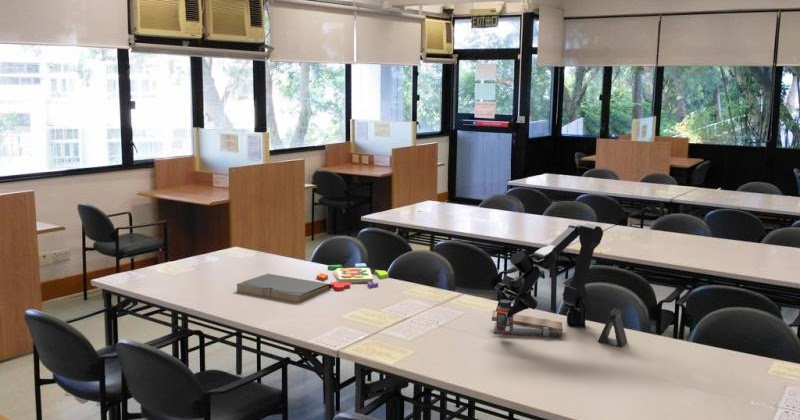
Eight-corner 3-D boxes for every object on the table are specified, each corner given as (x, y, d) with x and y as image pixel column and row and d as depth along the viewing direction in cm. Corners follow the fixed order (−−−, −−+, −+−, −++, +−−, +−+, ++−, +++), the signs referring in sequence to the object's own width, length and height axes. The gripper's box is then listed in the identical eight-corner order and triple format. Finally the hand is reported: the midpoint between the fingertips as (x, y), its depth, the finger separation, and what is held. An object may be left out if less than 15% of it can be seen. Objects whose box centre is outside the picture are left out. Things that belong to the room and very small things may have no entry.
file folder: (236, 283, 317) (270, 272, 338) (236, 292, 318) (270, 280, 339) (299, 294, 302) (330, 282, 324) (299, 304, 303) (330, 291, 324)
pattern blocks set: (306, 271, 355) (306, 265, 354) (371, 266, 368) (371, 260, 367) (331, 292, 320) (331, 285, 320) (401, 285, 333) (401, 279, 333)
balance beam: (561, 326, 276) (562, 322, 276) (562, 333, 268) (562, 329, 268) (492, 313, 280) (493, 310, 280) (491, 320, 272) (492, 316, 272)
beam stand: (558, 328, 278) (559, 319, 278) (559, 338, 267) (560, 329, 267) (494, 323, 282) (495, 315, 282) (493, 333, 272) (493, 324, 271)
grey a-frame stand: (627, 342, 265) (630, 311, 262) (622, 347, 260) (624, 315, 258) (603, 337, 270) (605, 306, 268) (597, 342, 265) (599, 310, 263)
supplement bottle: (512, 334, 262) (513, 304, 260) (495, 333, 263) (496, 302, 261) (513, 329, 267) (514, 299, 265) (496, 327, 269) (497, 298, 267)
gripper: (499, 261, 271) (474, 294, 267) (532, 273, 255) (506, 308, 251) (515, 279, 276) (491, 311, 273) (548, 291, 260) (523, 326, 257)
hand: (502, 314), depth 263 cm, fingers closed on supplement bottle, 6 cm apart
